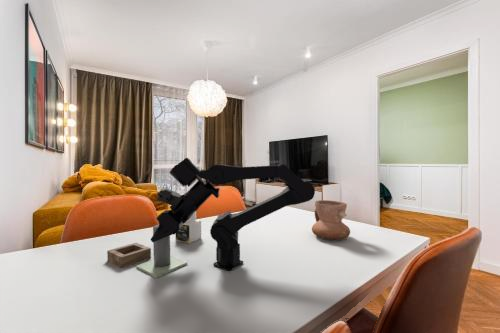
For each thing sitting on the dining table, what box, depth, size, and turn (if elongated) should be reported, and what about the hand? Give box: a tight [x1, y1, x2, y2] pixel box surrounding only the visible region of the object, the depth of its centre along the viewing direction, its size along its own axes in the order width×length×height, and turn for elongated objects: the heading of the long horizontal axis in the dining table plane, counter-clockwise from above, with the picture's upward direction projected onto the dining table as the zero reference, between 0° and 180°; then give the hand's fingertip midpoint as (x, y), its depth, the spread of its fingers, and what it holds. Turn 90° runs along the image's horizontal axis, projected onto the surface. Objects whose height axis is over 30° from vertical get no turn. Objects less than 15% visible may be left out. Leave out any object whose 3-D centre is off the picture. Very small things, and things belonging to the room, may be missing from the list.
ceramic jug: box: [311, 199, 351, 241], centre depth 93 cm, size 18×14×14 cm
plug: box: [152, 224, 171, 267], centre depth 67 cm, size 4×4×11 cm
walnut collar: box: [106, 242, 152, 269], centre depth 73 cm, size 9×9×3 cm
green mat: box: [135, 255, 188, 279], centre depth 67 cm, size 10×10×1 cm
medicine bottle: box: [175, 211, 202, 244], centre depth 91 cm, size 7×7×12 cm
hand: (157, 236), depth 67 cm, fingers open, 8 cm apart
